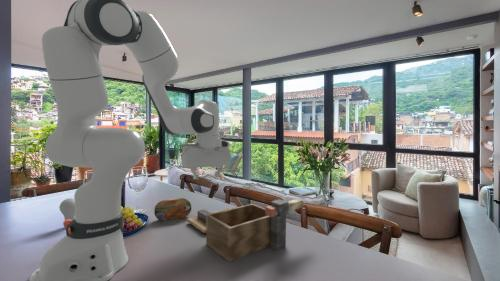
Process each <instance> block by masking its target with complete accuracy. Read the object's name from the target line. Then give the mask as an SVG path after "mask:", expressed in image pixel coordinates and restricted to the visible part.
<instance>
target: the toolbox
mask: <svg viewBox="0 0 500 281" xmlns="http://www.w3.org/2000/svg"><path fill="white" fill-rule="evenodd" d="M270 204H271V205H270V206H272V205H274V206H277V207H278V215H275V216H273V217H271V216H268V215H266V214H265V207H262V206H260V205H257V204H254V203H249V204H246V205H242V206H237V207H233V208H227V209H228V210H225V209H223V210H224V211H220V210H219V211H220V212H216V211H215V212H216V213H212V212H211V213H212V214H208V215H206V233H205V234H206V236H205V237H206V238H205V240H206V242H205V244H206V245H207V246H209V248H211V249H213V250H214V251H215V252H216V253H217V254H218V255H220V256H222V258H224V259H226V261H228V262H229V263H230V262H233V261H235V260H238V259H240V258H243V257H245V256H248V255H250V254H253V253H255V252H258V251H261V250H263V249H265V248H267V247H271V248H272V249H274V250H276V251H278V250H281V249H283V248H285V247H286V242H287V238H286V237H287V235H286V234H287V215H289V214H290V211H289V202H287V201H286V200H283V199H276V200H272V201H270Z"/></svg>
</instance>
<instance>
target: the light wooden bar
mask: <svg viewBox="0 0 500 281" xmlns="http://www.w3.org/2000/svg"><path fill="white" fill-rule="evenodd" d="M287 202H289V212H291V211H293V210H297V209H301V208H303V207H304V200H303V199H300V198H295V199H291V200H288V201H287ZM264 208H265V214H266V215H268V216H271V217H273V216H275V215H278V207H277V206H274V205H267V206H265V207H264Z"/></svg>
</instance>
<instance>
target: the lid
mask: <svg viewBox="0 0 500 281" xmlns="http://www.w3.org/2000/svg"><path fill="white" fill-rule="evenodd" d="M228 209H229V208H225V209H221V210H218V211H213V212H209V211H208V210H206V209H200V210H197V216H192V217H188V218H187V220H186V221H187V223H189V224H190V225H192V226H193V227H195V228H196V229H198V230H199V232H202V233H204V234H206V215H208V214H212V213H216V212H220V211H224V210H228Z"/></svg>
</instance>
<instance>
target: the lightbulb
mask: <svg viewBox="0 0 500 281" xmlns="http://www.w3.org/2000/svg"><path fill="white" fill-rule="evenodd" d="M58 208H59V211H60V212H61V214H62V215H63V217H64V221H65V220H66V219H71V220H74V219H75V200H74V198H72V197H71V198H65V199H64V200H62V201H61V203H60V205H59V207H58Z"/></svg>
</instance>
